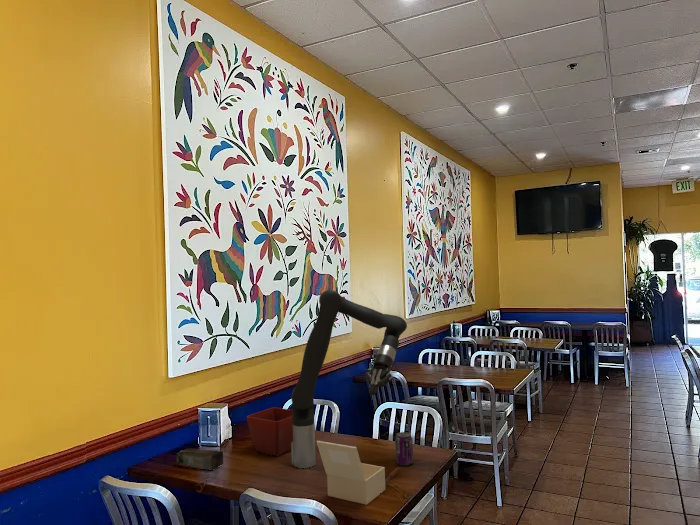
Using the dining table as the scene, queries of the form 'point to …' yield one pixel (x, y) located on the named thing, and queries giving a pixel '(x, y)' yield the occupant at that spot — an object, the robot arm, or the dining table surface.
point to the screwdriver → (393, 474)
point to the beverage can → (404, 448)
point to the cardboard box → (358, 485)
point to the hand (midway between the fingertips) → (371, 394)
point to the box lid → (341, 460)
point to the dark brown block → (200, 458)
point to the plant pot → (271, 430)
